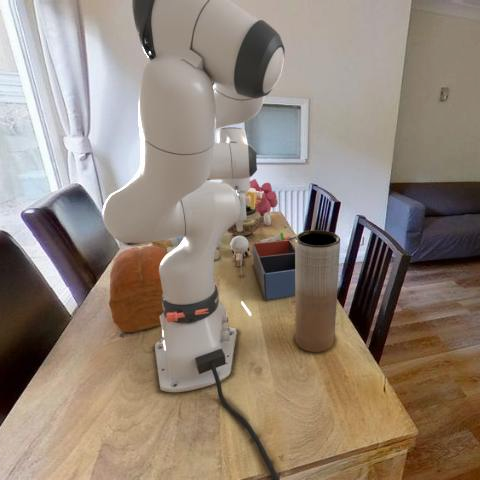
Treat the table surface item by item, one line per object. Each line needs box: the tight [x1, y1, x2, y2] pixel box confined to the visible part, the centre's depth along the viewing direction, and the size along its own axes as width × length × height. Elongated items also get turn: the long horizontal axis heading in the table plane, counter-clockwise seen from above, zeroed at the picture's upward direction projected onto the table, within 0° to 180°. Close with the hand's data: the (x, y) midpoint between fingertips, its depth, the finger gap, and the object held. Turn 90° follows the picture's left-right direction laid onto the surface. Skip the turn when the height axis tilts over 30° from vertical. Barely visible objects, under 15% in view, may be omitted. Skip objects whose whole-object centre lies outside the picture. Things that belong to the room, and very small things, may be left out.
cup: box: [257, 232, 285, 243], centre depth 126 cm, size 8×8×15 cm
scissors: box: [284, 233, 299, 240], centre depth 139 cm, size 8×21×2 cm, turn 154°
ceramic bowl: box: [226, 207, 263, 239], centre depth 140 cm, size 24×18×15 cm
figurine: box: [151, 237, 183, 252], centre depth 132 cm, size 13×25×6 cm, turn 154°
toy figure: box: [231, 246, 252, 267], centre depth 120 cm, size 7×6×15 cm
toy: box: [250, 178, 279, 227], centre depth 159 cm, size 28×30×15 cm
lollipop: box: [230, 236, 250, 277], centre depth 104 cm, size 6×6×15 cm
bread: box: [108, 245, 168, 333], centre depth 88 cm, size 16×27×16 cm, turn 29°
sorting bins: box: [251, 239, 295, 301], centre depth 105 cm, size 24×14×9 cm, turn 19°
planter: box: [294, 229, 341, 353], centre depth 73 cm, size 10×10×28 cm
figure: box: [244, 188, 264, 209], centre depth 136 cm, size 17×18×9 cm
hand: (238, 225), depth 100 cm, fingers open, 8 cm apart
